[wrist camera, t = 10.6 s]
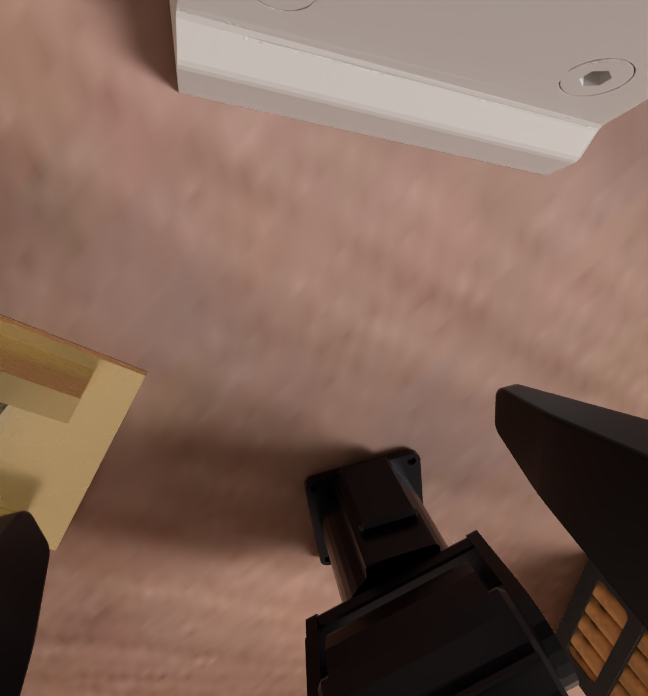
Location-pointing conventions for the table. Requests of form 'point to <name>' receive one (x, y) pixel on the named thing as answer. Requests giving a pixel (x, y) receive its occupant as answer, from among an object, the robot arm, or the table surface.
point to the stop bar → (4, 414)
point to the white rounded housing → (426, 69)
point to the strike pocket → (56, 422)
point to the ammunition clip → (604, 639)
